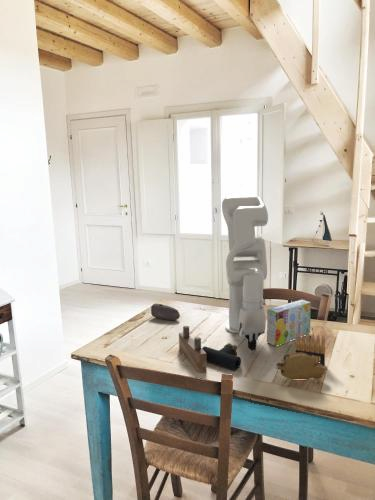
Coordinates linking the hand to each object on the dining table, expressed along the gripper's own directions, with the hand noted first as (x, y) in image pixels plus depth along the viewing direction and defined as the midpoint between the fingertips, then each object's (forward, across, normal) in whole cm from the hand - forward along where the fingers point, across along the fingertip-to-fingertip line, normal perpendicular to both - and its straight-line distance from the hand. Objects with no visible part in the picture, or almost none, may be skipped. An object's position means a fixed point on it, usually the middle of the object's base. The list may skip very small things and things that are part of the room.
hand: (251, 349), depth 159 cm
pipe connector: (+2, +12, +1) cm, 13 cm away
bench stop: (+2, +24, -4) cm, 24 cm away
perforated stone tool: (+2, +19, -49) cm, 53 cm away
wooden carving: (+2, -5, +24) cm, 25 cm away
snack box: (+2, -21, -6) cm, 22 cm away
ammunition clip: (+2, -15, +16) cm, 22 cm away
